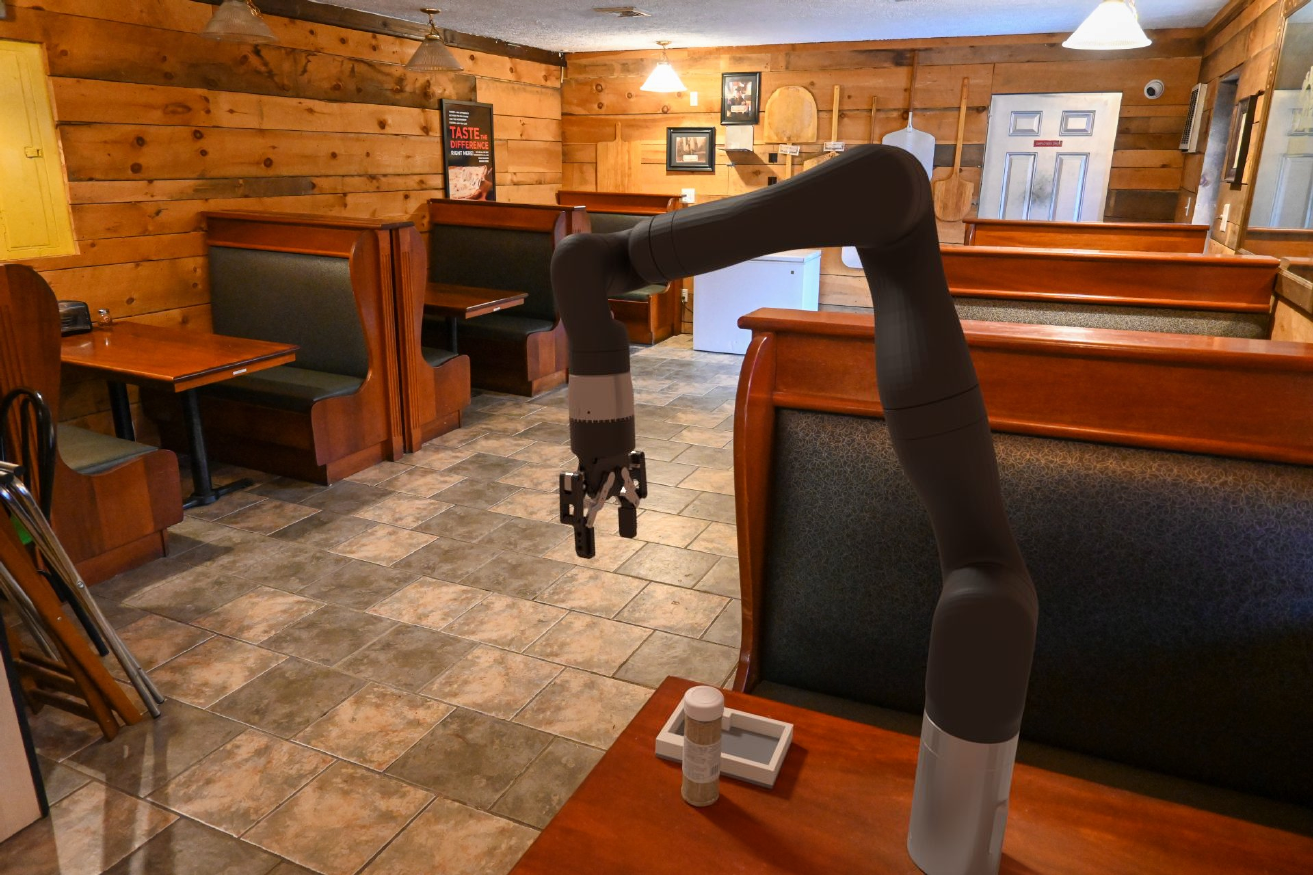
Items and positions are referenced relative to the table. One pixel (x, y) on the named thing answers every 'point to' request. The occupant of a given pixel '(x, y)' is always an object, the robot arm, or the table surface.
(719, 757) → the sprinkles bottle
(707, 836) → the table surface
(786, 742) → the shallow tray
